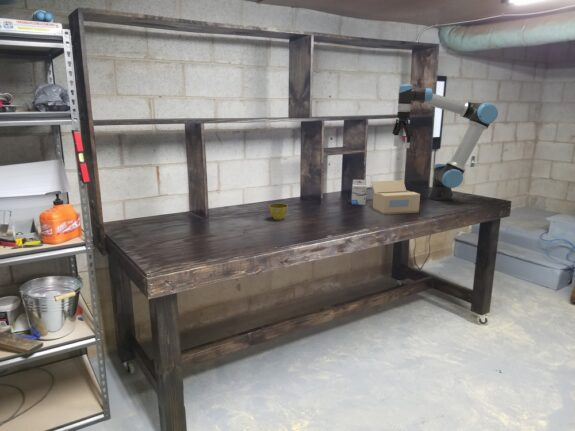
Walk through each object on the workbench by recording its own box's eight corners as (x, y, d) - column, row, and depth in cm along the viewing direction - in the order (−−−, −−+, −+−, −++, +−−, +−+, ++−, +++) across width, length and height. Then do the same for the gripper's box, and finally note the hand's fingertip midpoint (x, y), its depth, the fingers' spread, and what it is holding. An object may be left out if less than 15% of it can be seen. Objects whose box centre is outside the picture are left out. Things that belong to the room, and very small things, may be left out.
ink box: (351, 204, 271) (352, 180, 267) (351, 202, 275) (352, 179, 272) (365, 205, 270) (367, 181, 266) (365, 203, 275) (366, 179, 271)
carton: (406, 207, 266) (407, 189, 263) (418, 212, 253) (420, 194, 250) (372, 208, 260) (373, 191, 258) (383, 214, 247) (385, 195, 244)
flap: (406, 190, 264) (400, 195, 270) (403, 179, 266) (397, 184, 273) (374, 191, 258) (369, 197, 265) (371, 180, 261) (367, 186, 268)
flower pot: (268, 220, 231) (268, 207, 229) (269, 216, 240) (269, 203, 239) (287, 221, 231) (287, 207, 229) (287, 216, 240) (287, 203, 239)
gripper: (388, 110, 275) (386, 145, 280) (409, 111, 252) (406, 149, 257) (399, 110, 277) (396, 144, 282) (420, 111, 254) (417, 148, 259)
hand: (401, 147), depth 270 cm, fingers open, 13 cm apart
